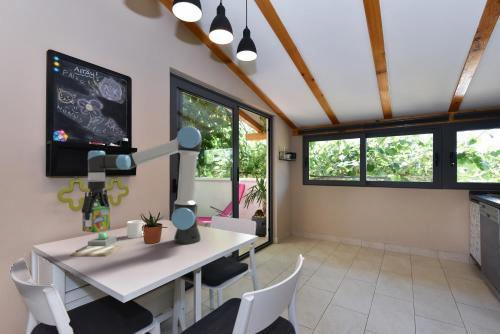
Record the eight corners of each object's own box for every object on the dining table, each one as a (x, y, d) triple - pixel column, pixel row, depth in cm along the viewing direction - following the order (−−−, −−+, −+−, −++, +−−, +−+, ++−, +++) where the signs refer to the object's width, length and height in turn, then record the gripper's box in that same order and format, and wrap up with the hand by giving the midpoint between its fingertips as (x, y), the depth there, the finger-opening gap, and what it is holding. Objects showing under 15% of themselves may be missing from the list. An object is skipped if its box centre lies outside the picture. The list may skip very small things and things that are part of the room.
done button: (108, 239, 141) (108, 232, 141) (103, 241, 137) (103, 234, 137) (101, 239, 141) (101, 232, 141) (96, 241, 137) (96, 234, 137)
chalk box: (93, 233, 121) (93, 203, 120) (81, 231, 124) (81, 201, 124) (111, 228, 129) (110, 200, 129) (99, 226, 133) (99, 199, 133)
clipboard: (121, 247, 133) (121, 245, 133) (106, 256, 120) (106, 253, 120) (88, 247, 133) (88, 244, 133) (69, 256, 120) (69, 253, 120)
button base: (116, 241, 144) (116, 236, 144) (105, 247, 134) (105, 241, 134) (99, 241, 144) (99, 236, 144) (87, 246, 134) (87, 241, 134)
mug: (123, 238, 151) (123, 223, 151) (133, 234, 160) (133, 219, 160) (142, 238, 149) (142, 223, 149) (150, 235, 158) (150, 220, 158)
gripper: (103, 179, 139) (103, 219, 138) (72, 182, 115) (72, 229, 115) (116, 179, 138) (116, 219, 138) (88, 182, 115) (87, 229, 115)
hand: (96, 223), depth 127 cm, fingers closed on chalk box, 11 cm apart
